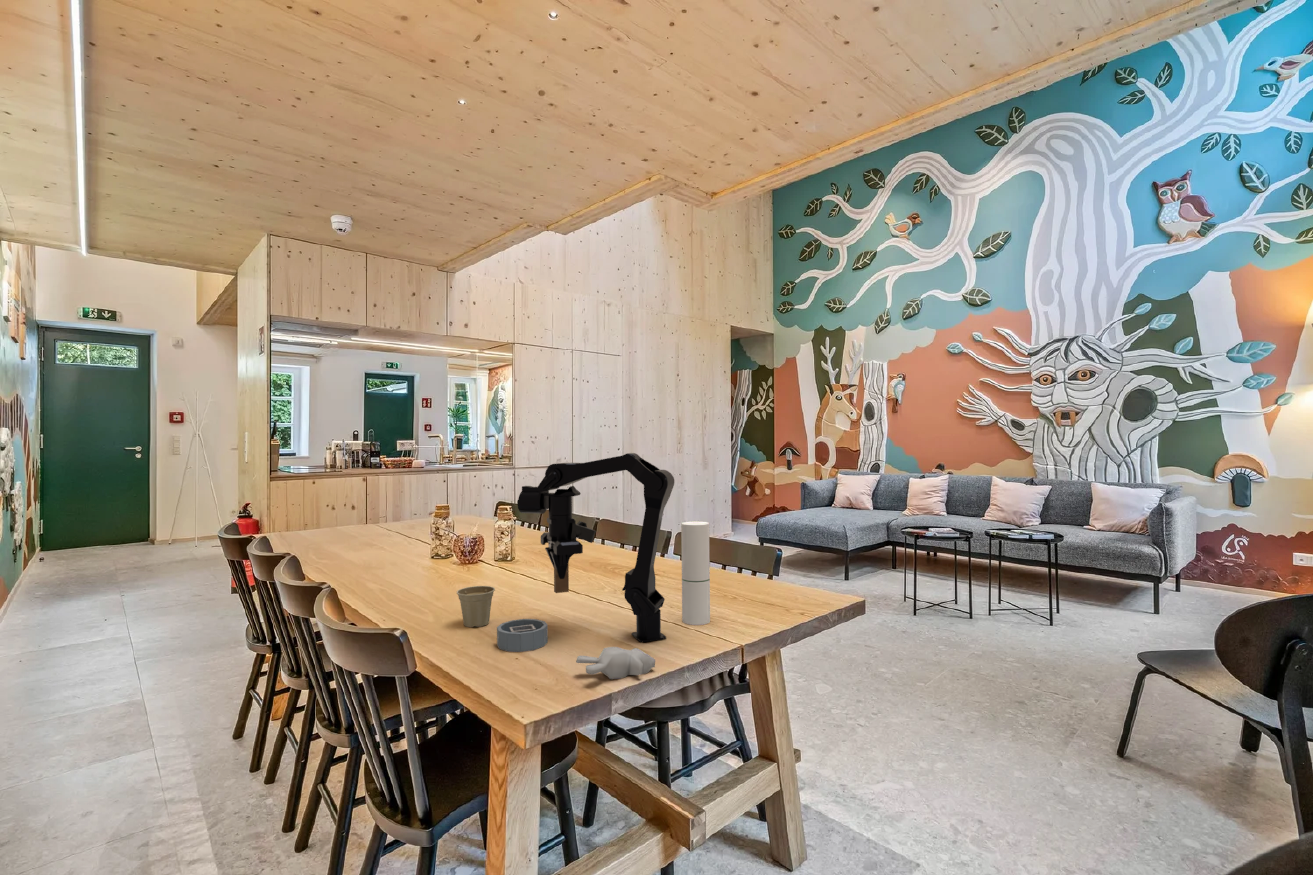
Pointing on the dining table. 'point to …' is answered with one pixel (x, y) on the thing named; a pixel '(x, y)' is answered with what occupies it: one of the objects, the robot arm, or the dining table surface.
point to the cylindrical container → (695, 573)
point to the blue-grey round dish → (522, 636)
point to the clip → (522, 628)
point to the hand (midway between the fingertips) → (560, 577)
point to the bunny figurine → (619, 662)
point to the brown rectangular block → (561, 581)
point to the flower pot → (476, 605)
